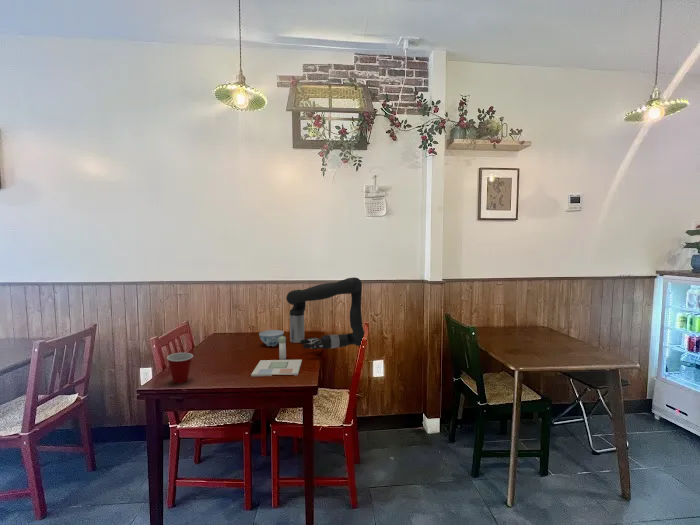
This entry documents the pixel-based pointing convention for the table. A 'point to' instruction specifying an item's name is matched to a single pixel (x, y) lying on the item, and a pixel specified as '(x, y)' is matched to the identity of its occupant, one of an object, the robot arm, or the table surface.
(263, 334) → the chinaware
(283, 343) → the marker
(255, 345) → the table surface
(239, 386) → the table surface
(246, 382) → the table surface
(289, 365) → the picture board
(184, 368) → the plastic cup
